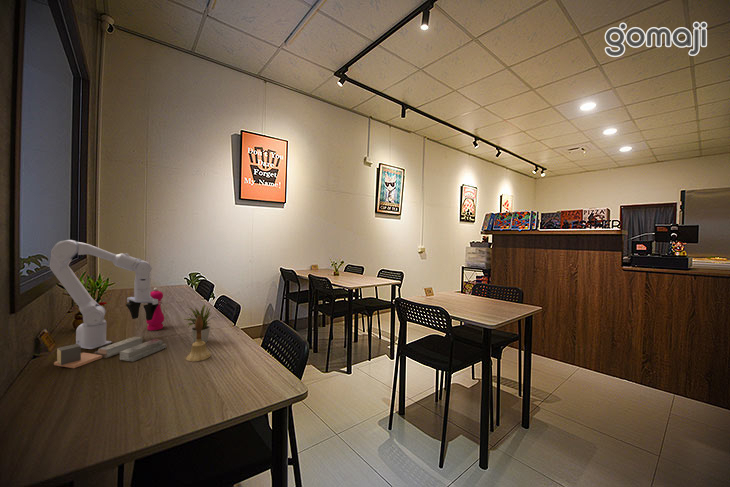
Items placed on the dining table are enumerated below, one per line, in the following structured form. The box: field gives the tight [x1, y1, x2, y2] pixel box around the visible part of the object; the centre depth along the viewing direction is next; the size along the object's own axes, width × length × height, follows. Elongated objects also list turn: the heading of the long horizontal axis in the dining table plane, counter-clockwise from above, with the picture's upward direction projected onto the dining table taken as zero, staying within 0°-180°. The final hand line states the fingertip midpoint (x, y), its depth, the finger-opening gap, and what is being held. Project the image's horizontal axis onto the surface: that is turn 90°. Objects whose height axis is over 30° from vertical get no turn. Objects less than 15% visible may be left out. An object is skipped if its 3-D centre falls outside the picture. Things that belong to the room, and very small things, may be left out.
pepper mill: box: [145, 287, 165, 332], centre depth 145 cm, size 7×7×20 cm
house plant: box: [183, 304, 217, 344], centre depth 130 cm, size 14×14×16 cm
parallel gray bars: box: [93, 336, 167, 363], centre depth 117 cm, size 18×14×3 cm
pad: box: [53, 352, 103, 369], centre depth 107 cm, size 9×9×1 cm
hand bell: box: [185, 314, 212, 363], centre depth 114 cm, size 8×8×16 cm
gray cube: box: [56, 343, 82, 365], centre depth 105 cm, size 4×5×5 cm
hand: (142, 319), depth 132 cm, fingers open, 7 cm apart
